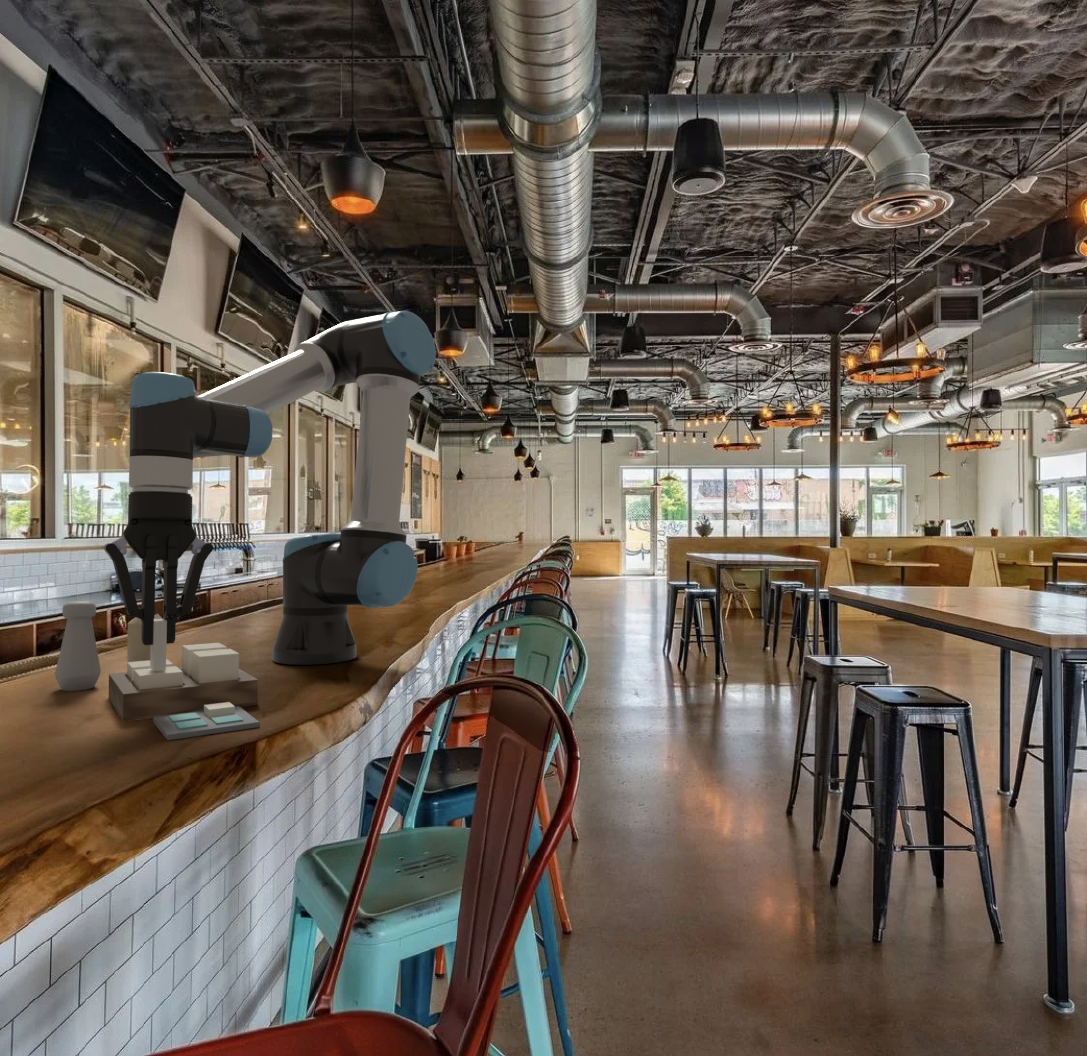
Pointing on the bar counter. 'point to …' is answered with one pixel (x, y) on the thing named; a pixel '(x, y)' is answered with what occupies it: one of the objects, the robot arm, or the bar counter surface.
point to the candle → (137, 641)
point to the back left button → (189, 649)
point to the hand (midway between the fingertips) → (157, 668)
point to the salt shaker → (78, 649)
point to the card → (205, 721)
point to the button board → (178, 696)
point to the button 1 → (140, 667)
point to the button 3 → (215, 665)
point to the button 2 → (157, 678)
